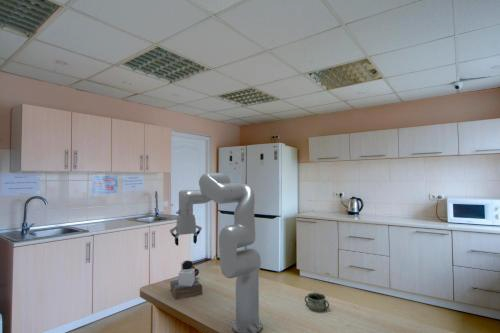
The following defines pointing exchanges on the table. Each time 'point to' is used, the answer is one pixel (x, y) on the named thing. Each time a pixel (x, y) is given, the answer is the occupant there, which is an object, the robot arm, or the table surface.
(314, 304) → the vessel
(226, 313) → the table surface
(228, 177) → the robot arm
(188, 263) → the medicine bottle
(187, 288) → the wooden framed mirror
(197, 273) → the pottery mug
